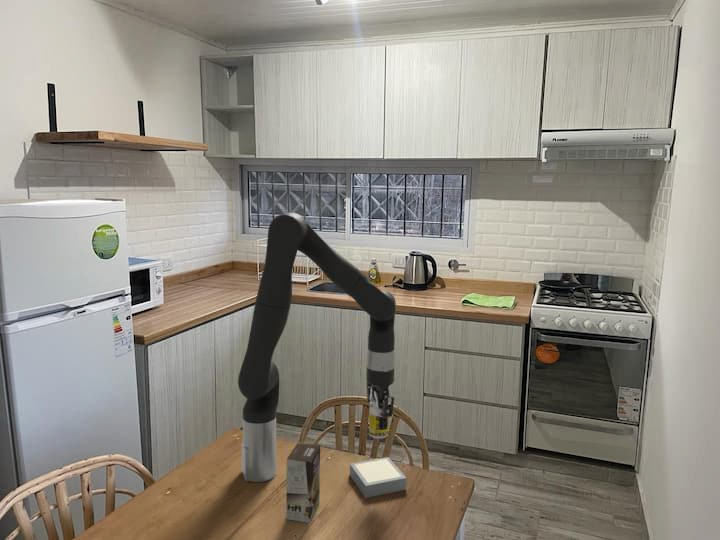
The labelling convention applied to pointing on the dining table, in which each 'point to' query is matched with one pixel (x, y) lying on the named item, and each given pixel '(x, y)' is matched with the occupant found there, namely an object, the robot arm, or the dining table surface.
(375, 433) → the supplement bottle
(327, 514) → the dining table surface
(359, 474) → the block
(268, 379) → the robot arm
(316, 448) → the coffee box
